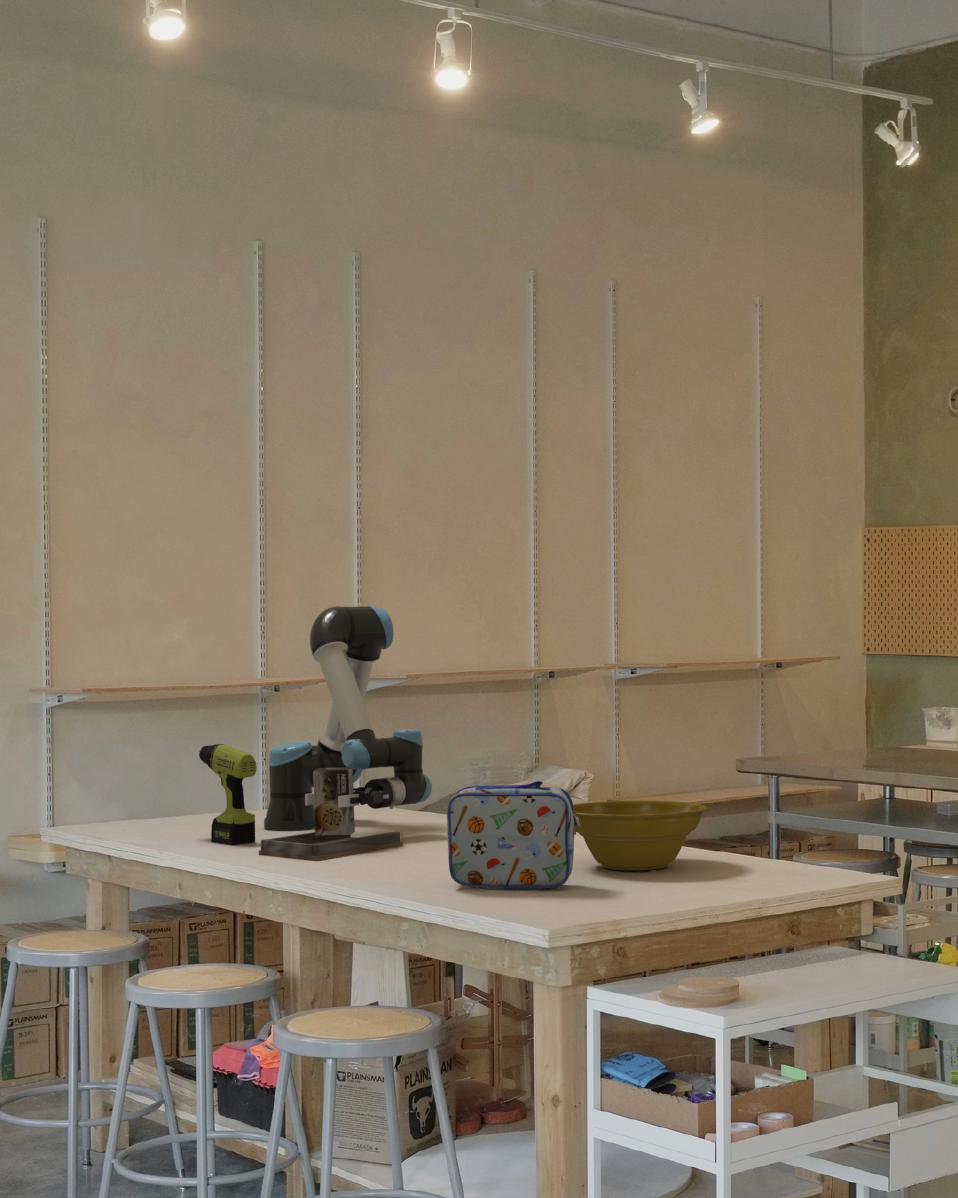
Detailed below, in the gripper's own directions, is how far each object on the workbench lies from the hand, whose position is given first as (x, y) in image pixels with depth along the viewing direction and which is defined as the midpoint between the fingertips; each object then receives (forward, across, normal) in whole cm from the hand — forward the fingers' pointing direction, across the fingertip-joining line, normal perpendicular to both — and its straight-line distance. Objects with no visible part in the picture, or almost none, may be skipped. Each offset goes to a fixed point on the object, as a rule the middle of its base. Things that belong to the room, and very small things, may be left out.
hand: (322, 800), depth 373 cm
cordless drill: (-1, +37, -12) cm, 39 cm away
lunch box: (+17, -72, -13) cm, 75 cm away
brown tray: (-3, 0, -12) cm, 13 cm away
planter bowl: (-19, -78, -13) cm, 81 cm away
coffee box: (-4, 0, -9) cm, 10 cm away
